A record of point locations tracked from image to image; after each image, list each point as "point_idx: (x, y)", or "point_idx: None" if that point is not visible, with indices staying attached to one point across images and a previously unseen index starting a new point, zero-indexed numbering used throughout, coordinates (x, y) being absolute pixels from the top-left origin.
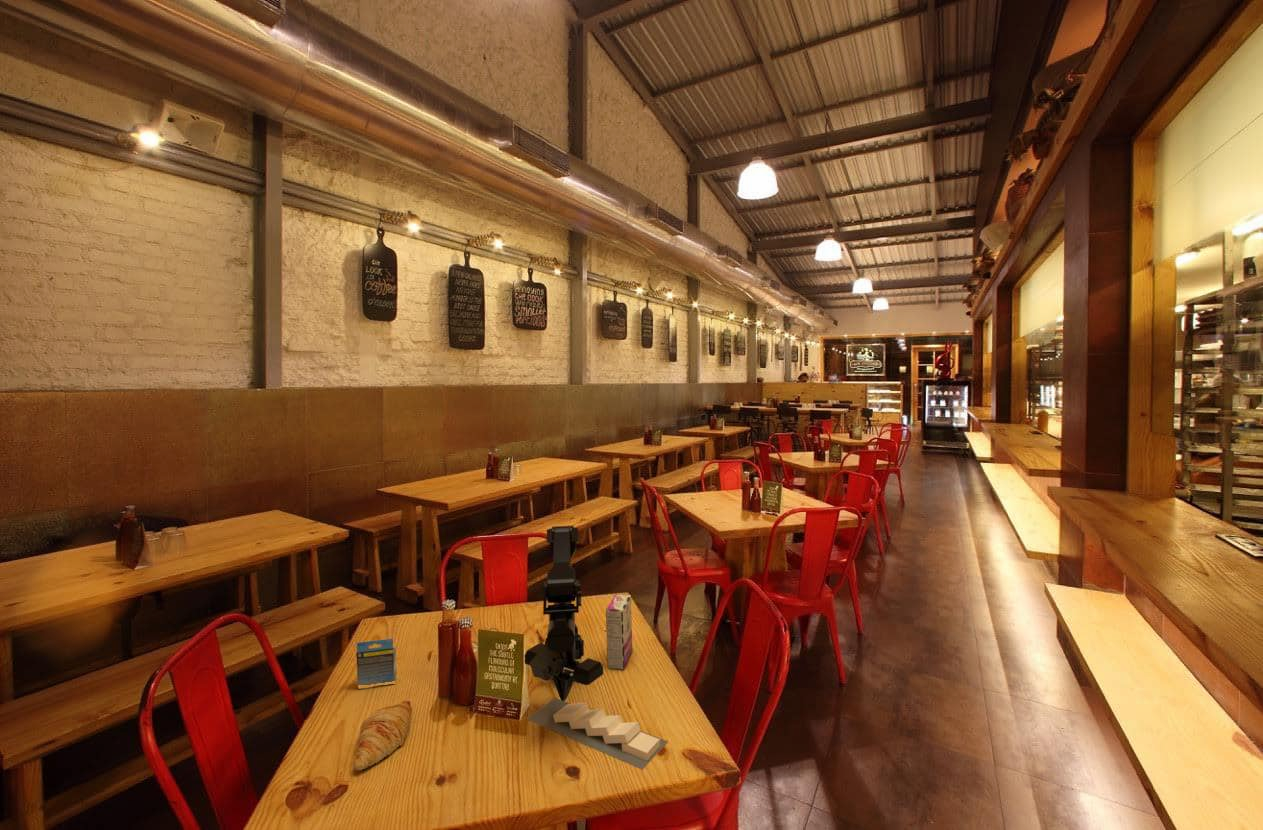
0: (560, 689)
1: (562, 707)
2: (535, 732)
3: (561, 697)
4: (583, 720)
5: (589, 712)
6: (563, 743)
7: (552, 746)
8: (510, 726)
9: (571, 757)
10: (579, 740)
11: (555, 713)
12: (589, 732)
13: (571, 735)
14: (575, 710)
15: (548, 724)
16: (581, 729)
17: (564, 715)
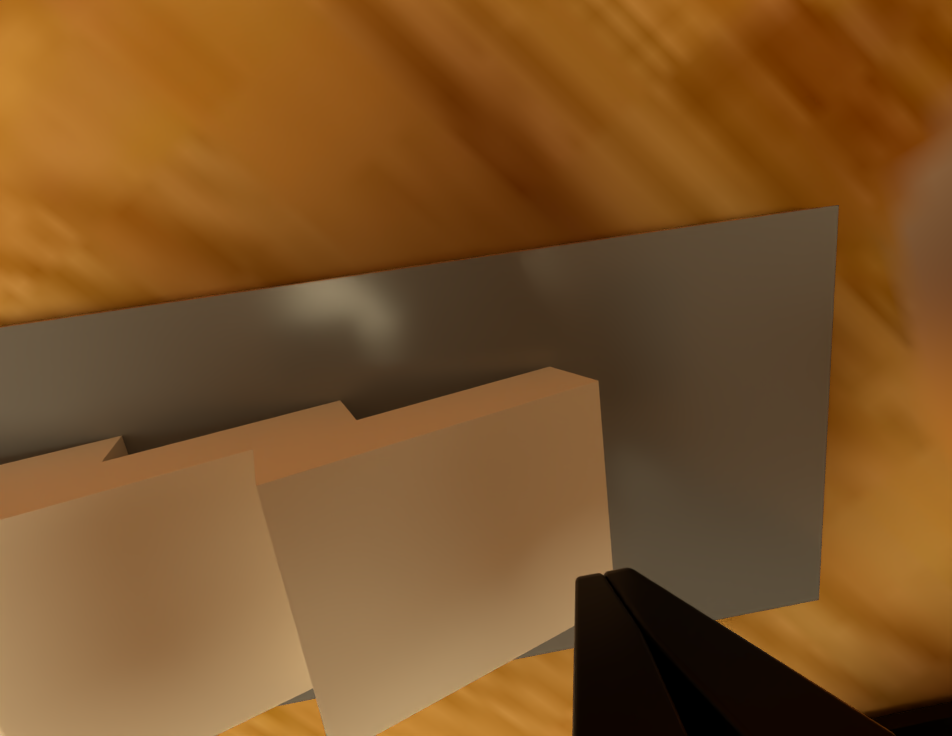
0: (720, 731)
1: (664, 555)
2: (626, 176)
3: (625, 600)
4: (64, 504)
5: (221, 660)
6: (281, 242)
7: (323, 135)
8: (895, 73)
9: (29, 141)
10: (113, 335)
11: (596, 417)
12: (58, 461)
13: (247, 335)
14: (301, 563)
15: (577, 300)
16: None
17: (421, 429)
